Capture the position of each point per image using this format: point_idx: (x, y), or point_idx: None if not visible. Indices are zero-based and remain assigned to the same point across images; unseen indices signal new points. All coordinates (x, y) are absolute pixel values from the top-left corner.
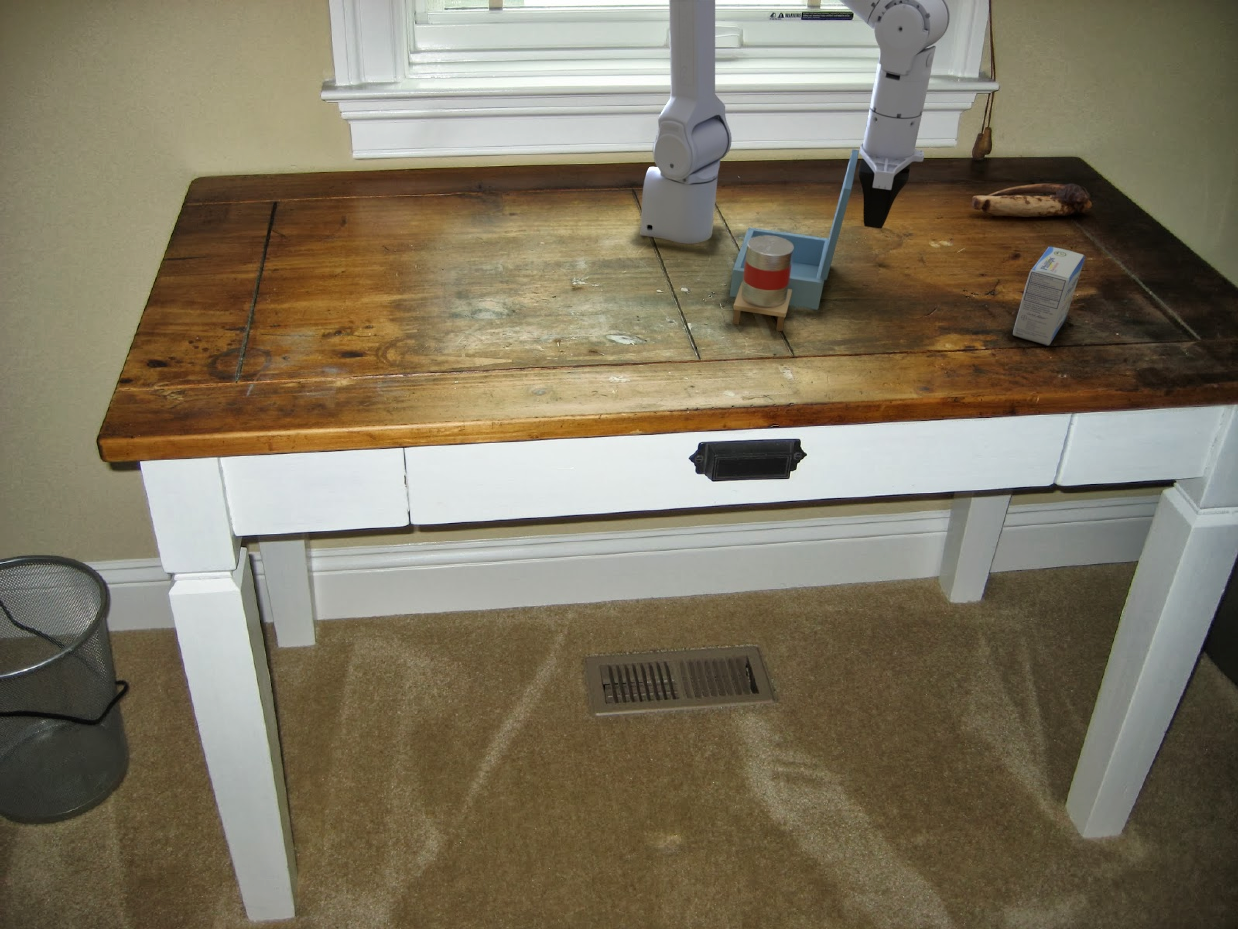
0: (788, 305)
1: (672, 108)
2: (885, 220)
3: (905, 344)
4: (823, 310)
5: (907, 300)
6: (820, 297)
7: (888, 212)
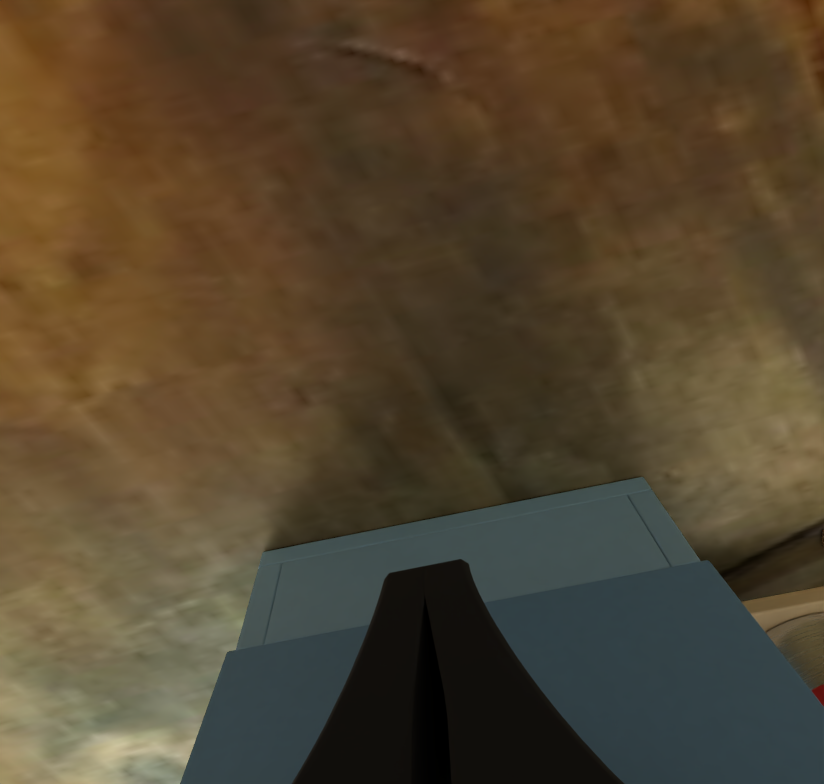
0: (816, 591)
1: None
2: (472, 589)
3: (754, 98)
4: (591, 468)
5: (331, 199)
6: (574, 510)
7: (501, 635)
